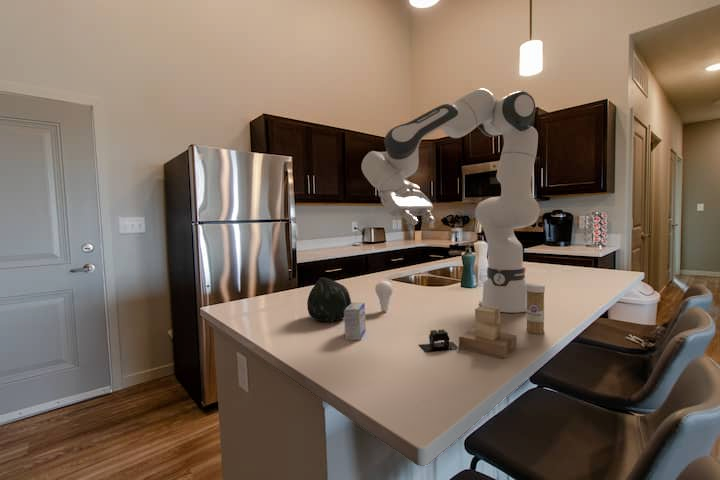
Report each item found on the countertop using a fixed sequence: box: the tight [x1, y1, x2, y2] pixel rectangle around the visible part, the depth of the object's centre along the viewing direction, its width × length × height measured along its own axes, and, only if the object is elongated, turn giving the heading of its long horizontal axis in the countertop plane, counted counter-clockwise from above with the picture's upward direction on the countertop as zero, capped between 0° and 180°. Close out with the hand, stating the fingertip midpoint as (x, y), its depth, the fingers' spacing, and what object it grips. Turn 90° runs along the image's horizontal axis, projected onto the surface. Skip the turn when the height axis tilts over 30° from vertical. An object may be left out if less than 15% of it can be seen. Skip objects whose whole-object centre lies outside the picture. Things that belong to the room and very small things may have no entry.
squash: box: [306, 277, 352, 323], centre depth 116 cm, size 14×15×15 cm
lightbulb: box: [374, 280, 394, 313], centre depth 122 cm, size 6×6×11 cm
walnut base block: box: [458, 326, 518, 360], centre depth 87 cm, size 9×11×3 cm
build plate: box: [417, 329, 461, 354], centre depth 88 cm, size 12×7×5 cm, turn 98°
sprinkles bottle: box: [525, 282, 546, 335], centre depth 97 cm, size 5×5×14 cm
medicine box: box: [343, 302, 367, 341], centre depth 99 cm, size 8×4×9 cm, turn 168°
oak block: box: [474, 305, 501, 340], centre depth 87 cm, size 4×4×7 cm
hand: (424, 222), depth 102 cm, fingers open, 8 cm apart
